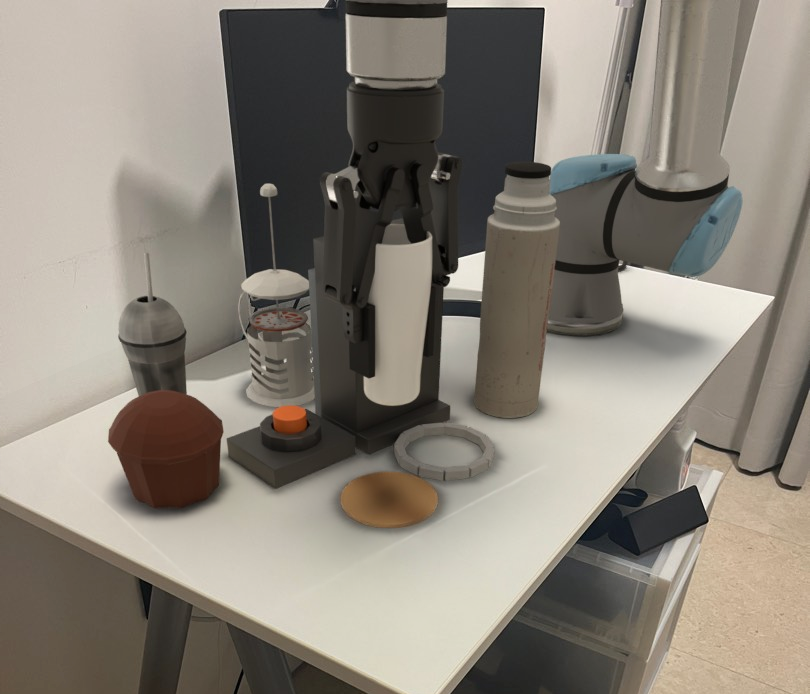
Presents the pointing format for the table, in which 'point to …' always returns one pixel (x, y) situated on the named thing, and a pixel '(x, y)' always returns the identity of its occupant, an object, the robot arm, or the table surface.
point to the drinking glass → (399, 316)
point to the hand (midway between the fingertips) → (392, 361)
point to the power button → (289, 419)
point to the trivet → (389, 499)
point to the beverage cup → (154, 342)
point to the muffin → (168, 448)
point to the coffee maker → (372, 421)
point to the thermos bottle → (516, 292)
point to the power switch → (290, 449)
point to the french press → (278, 336)
